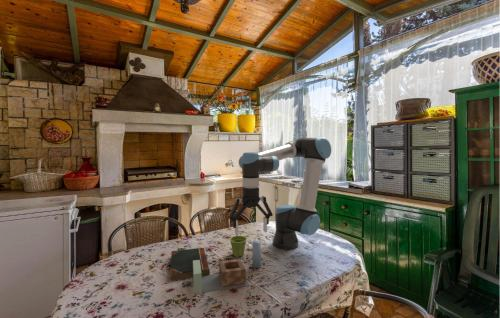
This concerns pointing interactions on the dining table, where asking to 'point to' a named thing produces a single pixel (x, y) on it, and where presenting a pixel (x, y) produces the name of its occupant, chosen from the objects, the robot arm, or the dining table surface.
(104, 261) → the dining table surface
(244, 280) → the socket block
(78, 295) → the dining table surface
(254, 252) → the dowel
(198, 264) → the wall
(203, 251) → the book
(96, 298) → the dining table surface
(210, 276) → the runner mat
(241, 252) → the plant pot
